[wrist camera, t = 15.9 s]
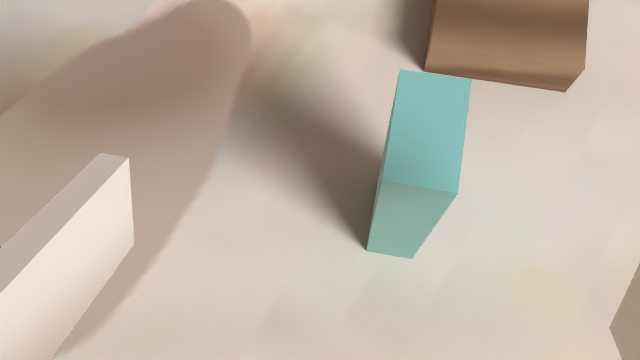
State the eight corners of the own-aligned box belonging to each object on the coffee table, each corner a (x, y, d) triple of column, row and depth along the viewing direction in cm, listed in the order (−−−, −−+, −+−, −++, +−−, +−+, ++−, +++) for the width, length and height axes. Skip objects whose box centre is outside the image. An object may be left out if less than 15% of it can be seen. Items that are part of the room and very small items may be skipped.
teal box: (411, 258, 39) (457, 193, 23) (366, 250, 39) (382, 181, 23) (421, 186, 40) (471, 79, 25) (377, 179, 40) (400, 69, 25)
